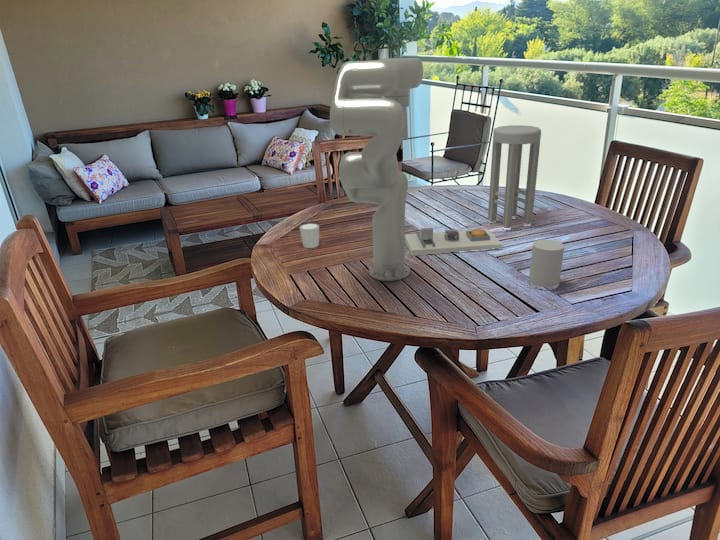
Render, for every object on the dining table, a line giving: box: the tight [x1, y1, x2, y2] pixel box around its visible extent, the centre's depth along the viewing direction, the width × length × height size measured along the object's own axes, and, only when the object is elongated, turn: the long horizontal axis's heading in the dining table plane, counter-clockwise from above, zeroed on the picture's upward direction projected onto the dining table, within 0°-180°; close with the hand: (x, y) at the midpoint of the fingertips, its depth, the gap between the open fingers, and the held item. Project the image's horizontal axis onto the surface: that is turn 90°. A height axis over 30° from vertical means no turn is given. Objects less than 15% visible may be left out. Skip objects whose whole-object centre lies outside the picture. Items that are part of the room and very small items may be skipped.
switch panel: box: [405, 228, 503, 257], centre depth 176 cm, size 15×30×4 cm, turn 95°
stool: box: [487, 124, 542, 228], centre depth 186 cm, size 16×16×35 cm
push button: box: [471, 229, 485, 237], centre depth 176 cm, size 4×4×2 cm
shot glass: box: [299, 223, 320, 249], centre depth 180 cm, size 7×7×7 cm
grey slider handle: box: [419, 227, 434, 244], centre depth 173 cm, size 3×4×5 cm
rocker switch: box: [444, 229, 459, 237], centre depth 175 cm, size 6×3×2 cm, turn 5°
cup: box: [528, 239, 565, 287], centre depth 144 cm, size 8×8×12 cm
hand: (397, 161), depth 166 cm, fingers closed
